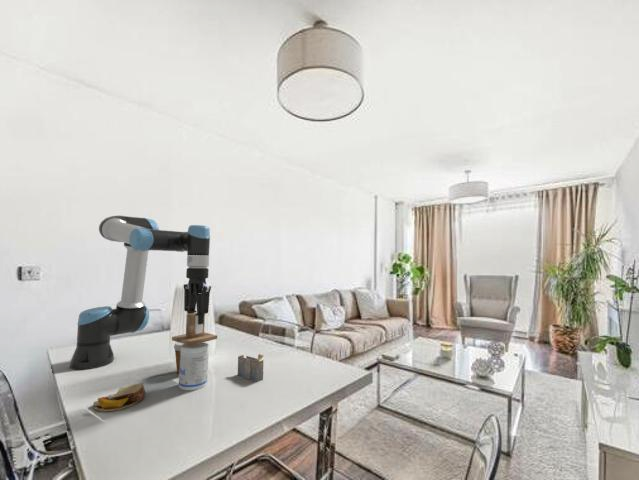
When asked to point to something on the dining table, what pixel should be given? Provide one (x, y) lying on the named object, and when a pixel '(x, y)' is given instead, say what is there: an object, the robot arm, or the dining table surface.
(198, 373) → the supplement tub
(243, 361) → the ruin model on sheet
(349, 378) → the dining table surface
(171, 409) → the dining table surface
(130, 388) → the toy sandwich meal
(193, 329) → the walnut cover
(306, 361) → the dining table surface
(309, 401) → the dining table surface
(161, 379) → the grey square tile
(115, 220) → the robot arm
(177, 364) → the disposable coffee cup
